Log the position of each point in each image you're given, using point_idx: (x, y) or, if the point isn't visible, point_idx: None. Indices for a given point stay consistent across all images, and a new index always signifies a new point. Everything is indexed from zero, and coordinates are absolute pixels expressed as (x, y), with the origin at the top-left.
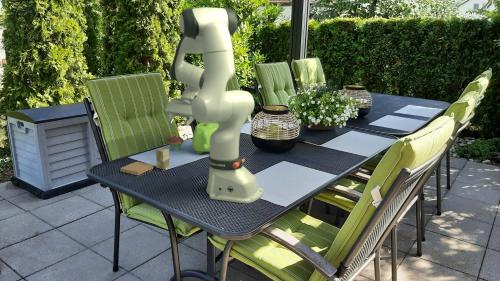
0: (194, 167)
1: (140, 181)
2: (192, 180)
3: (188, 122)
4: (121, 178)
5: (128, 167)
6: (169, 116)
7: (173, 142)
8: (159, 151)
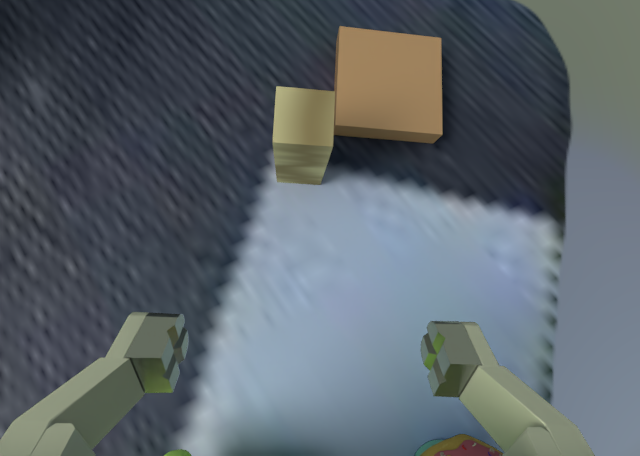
0: (162, 241)
1: (290, 3)
2: (83, 89)
3: (118, 352)
4: (379, 2)
5: (416, 56)
6: (527, 389)
7: (447, 451)
8: (305, 92)
